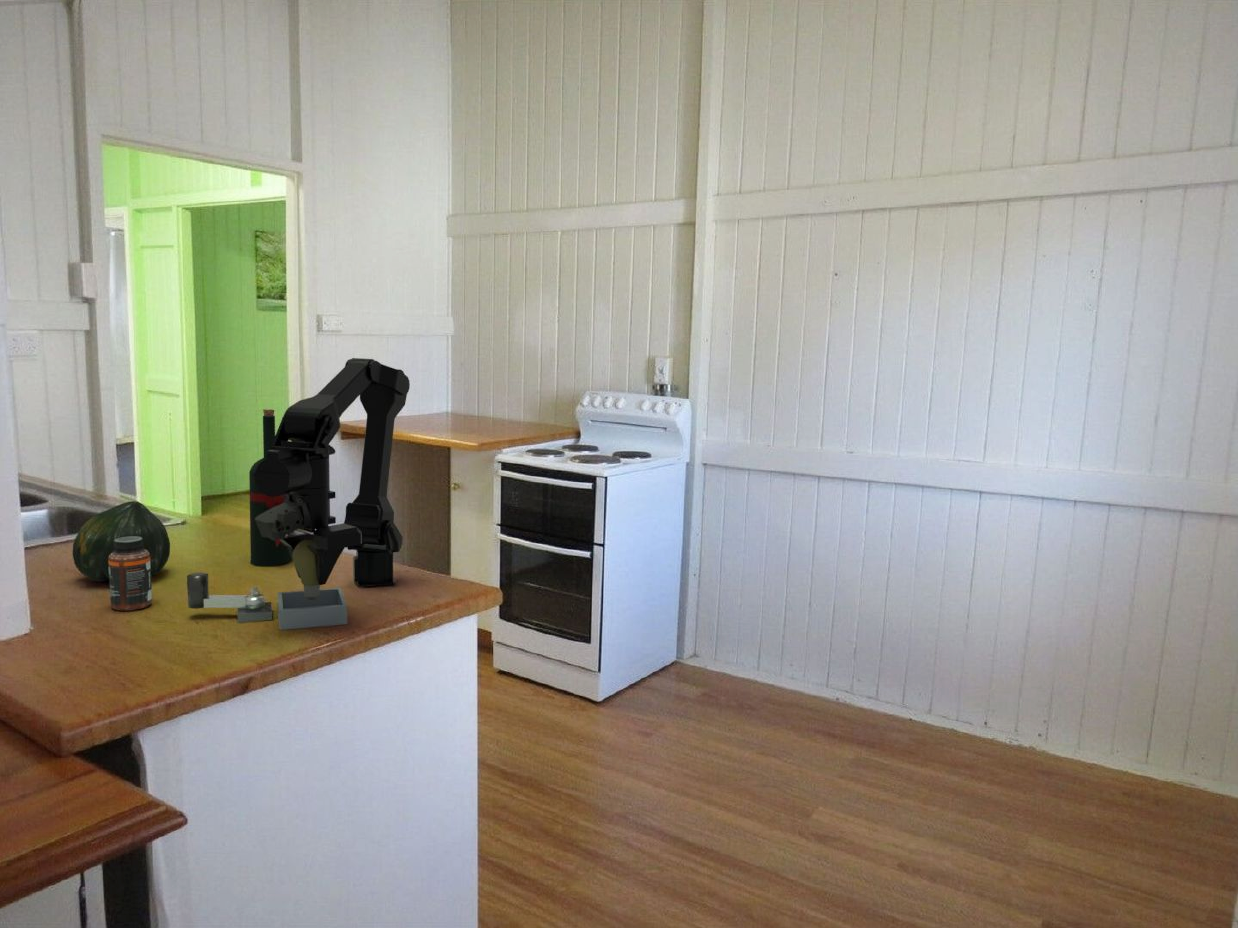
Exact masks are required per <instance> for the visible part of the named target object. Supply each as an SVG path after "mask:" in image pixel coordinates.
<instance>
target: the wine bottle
mask: <svg viewBox="0 0 1238 928" xmlns="http://www.w3.org/2000/svg"><path fill="white" fill-rule="evenodd" d="M262 411H263V415H262V437H263V439H262V440H263V441H262V442H263V444H262V445H263V446H262V447H263V448H262V449H263V457H262V458H260V459H259V460H257V461H256V462H254V463H253V464H252V466H251V468H250V470H249V473H248V474H249V477H248V478H249V479H248V480H249V529H250V530H249V534H250V541H249V542H250V543H249V544H250V545H249V546H250V565H252V566H255V567H263V568H270V567H280V566H285V565H289V564H290V563H293V560H292V557H291V555H290V552H289V550H288V548H287V546H286V545H285V544H284V543H283V542H281V541H280V540H275V541H274V540H271V539H270V538H268V537H262V536H261V533H260V530H259V528H258V525H257V523H256V520H255V518H256V517H257V516H258V515H260V514H262V513H264V512H266V511H268V510H269V509H271V508H273V507H275V506H278V505H280V504H283V503H284V495H285V494H284V495H281V496H277V497H270V496H267V495H265V494H263V493H262V492H261V491H260V490H259V488H258V487H257V485H256V482H255V478H254V474H255V472H256V469H257V467H258V465H259V464H260V463H261V462H262V461H263V460H265V459H267V456H266V452H267V451H268V450H271V446H272V443H273V441H274V438H275V435H276V416H275V409H273V408H270V409H267V408H264V409H262Z"/></svg>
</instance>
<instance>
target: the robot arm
mask: <svg viewBox="0 0 1238 928" xmlns="http://www.w3.org/2000/svg"><path fill="white" fill-rule="evenodd" d="M410 386H411V385H410V379H409V377H408V376H407V375H406V374H405V373H404V370H402V369H397V368H394V367H391V366H388V365H386V364H383V363H381V362H379V361H378V360H375V359H374V358H359V357H352V358H350V359H348V360H347V361H346V362H345V365H344V367H343V368H342V369H341V370H340V371H339V372H337V374H336V375H335V376H334V377H333V378H332V379H331V380H330V381H329V382H328V383H327V384H326V385H325V386H324V387H323V388H322V389H321V390H319V392H318V393H317V394H316V395H313V396H311V397H307V398H304V399H300V400H298V401H297V402H296V403H295V402H294V404H291V405H290V406H289V407H288V408H287V409H286V410H285V411H284V414H283V415H282V418H281V421H280V423H279V426H278V428H277V430H276V432H275V438H274V441H273V443H272V446H271V450H268V451H267V452H266V456H267V459H265V460H263V461H262V462H261V463H260V464H259V465H258V467H257V469H256V472H255V474H254V478H255V482H256V485H257V487H258V488H259V490H260V491H261V492H262V493H263V494H265V495H267V496H270V497H277V496H281V495H284V494H285V495H284V503H283V504H280V505H278V506H275V507H273V508H271V509H269V510H268V511H266V512H264V513H262V514H260V515H258V516H257V517H256V518H255V520H256V523H257V525H258V528H259V530H260V533H261V536H262V537H268V538H270V539H271V540H274V541H275V540H280V541H281V542H283V543H284V544H285V545H286V546H287V548H288V550H289V552H290V555H291V557H292V556H293V551H294V549H295V547H296V546H297V545H298V544H299V543H300V542H301V541H303V540H305V539H311V538H312V539H314V542H315V543H316V544H315V545H309V546H307V548H308V549H309V550H310V551H312V552H313V553H314V555H315V563H316V572H317V580H318V584H319V585H320V586H324V585H327V584H326V583H327V581H328V580H329V578H330V576H331V573H332V571H333V570H334V568H335V566H336V564H337V562H338V560H339V558H340V556H341V555H342V553H343V552H344V550H345V549H346V548H347V551H355V552H356V553H355V555H354V556H353V557H352V578H353V580H354V582H355V583H356V584H357V586H358V587H359V588H364V587H365V588H366V587H379V586H380V587H381V586H392V585H395V584H396V581H395V579H394V553H400V551H401V549H402V545H403V537H404V536H402V534H401V532H400V530H399V529H398V527H397V526H396V524H395V521H394V520H395V512H394V509H393V507H392V505H391V503H390V500H389V499H388V486H389V478H390V466H391V460H392V459H391V456H392V448H393V436H394V429H395V428H394V427H395V420H396V417H397V416H398V415H399V414H400V413H401V412H402V409H404V407H405V406H406V402H407V396H408V393H409V391H410ZM358 397H359V401H360V403H361V405H362V407H363V409H364V411H365V413H366V422H365V423H366V425H365V432H364V433H365V434H364V441H363V442H364V444H363V450H362V451H363V452H362V461H361V468H360V469H361V472H360V479H359V480H360V481H359V489H358V495H357V496H356V497H355V498H354V500H353V501H352V502H348V503H347V504H346V506H345V517H344V522H343V523H339V524H336V521H337V519H336V517H337V516H333V515H331V505H330V504H331V499H336V491H333V490H330V489H331V488H330V486H331V485H330V482H331V480H330V456H331V455H334V454H336V449H335V448H334V447H333V446H331V444H330V443H331V442H332V441H333V439H334V438H335V436H336V434H337V433H338V431H339V430H340V429H341V420H340V418H341V417H342V416H343V414H344V412H345V411H346V410H347V409H348V408H349V407H350V406H351V405H352V404H353V403H354V402H355V401H356V399H358ZM333 524H334V525H333ZM292 560H293V558H292ZM294 568H295V567H294ZM295 571H296V574H297V576H298V578H299V579H301V578H300V575H299V573H298V571H297V569H296V568H295Z"/></svg>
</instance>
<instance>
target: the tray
mask: <svg viewBox="0 0 1238 928" xmlns="http://www.w3.org/2000/svg"><path fill="white" fill-rule="evenodd" d="M319 590H320V595H319V596H318V597H317V598H316V599H314V600H309V599H308V598H307V597H305V596H304V590H294V591H293V590H290V591H279V592H277V615H278V626H279V631H282V630H283V631H284V630H285V631H286V630H294V629H295V630H296V629H308V628H317V627H318V628H320V627H328V626H340V625H348V604H347V600H346V598H345V595H344V591H343V589H342V588H341V587H334V588H320V589H319Z"/></svg>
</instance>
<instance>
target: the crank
mask: <svg viewBox="0 0 1238 928" xmlns="http://www.w3.org/2000/svg"><path fill="white" fill-rule="evenodd" d="M186 583H187V585H186V586H187V587H186V588H187V607H188V608H189V609H203V608H204V609H205V608H218V609H219V608H224V609H225V608H230V609H231V608H237V609H238V607H246V608H260V607H263V606H264V605H265V602H266V600H265V598H266V597H265V595H264V594H259V593H258V594H253V595H251V594H237V595H236V594H223V595H222V594H212V595H211V594H209V573H208V572H193V573H189V574H187V575H186Z"/></svg>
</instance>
